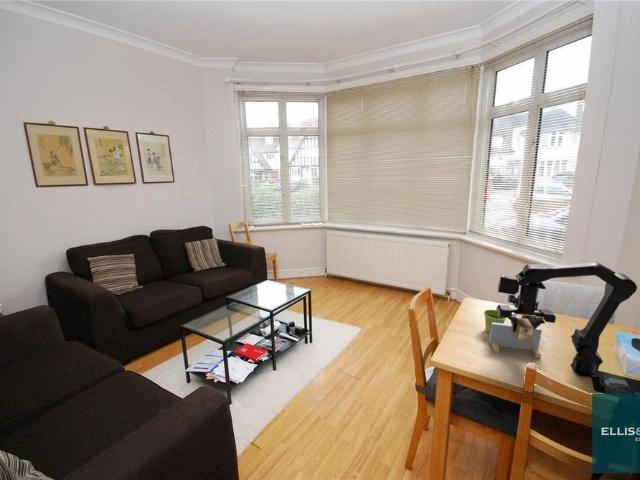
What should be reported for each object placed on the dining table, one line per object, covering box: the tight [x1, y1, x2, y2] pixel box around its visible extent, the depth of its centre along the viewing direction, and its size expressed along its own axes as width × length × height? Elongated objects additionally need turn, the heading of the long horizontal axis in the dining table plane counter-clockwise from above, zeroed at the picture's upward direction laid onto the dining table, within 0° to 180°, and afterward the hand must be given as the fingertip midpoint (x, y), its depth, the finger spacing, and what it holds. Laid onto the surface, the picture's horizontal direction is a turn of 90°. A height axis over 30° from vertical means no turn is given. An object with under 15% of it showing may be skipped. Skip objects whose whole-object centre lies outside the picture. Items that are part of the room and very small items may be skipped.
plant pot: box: [483, 309, 508, 334], centre depth 141 cm, size 9×9×9 cm
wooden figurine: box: [520, 301, 540, 322], centre depth 140 cm, size 7×6×15 cm
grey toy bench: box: [488, 322, 542, 359], centre depth 126 cm, size 18×6×10 cm, turn 74°
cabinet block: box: [511, 317, 534, 342], centre depth 121 cm, size 5×7×6 cm
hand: (521, 332), depth 121 cm, fingers closed on cabinet block, 5 cm apart
